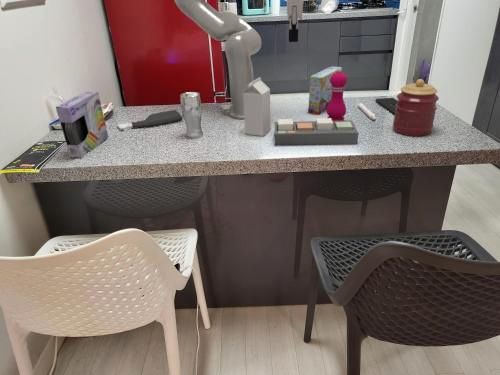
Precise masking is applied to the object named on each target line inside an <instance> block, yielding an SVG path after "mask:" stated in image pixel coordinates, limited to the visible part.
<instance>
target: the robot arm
mask: <svg viewBox="0 0 500 375" xmlns="http://www.w3.org/2000/svg"><path fill="white" fill-rule="evenodd" d="M174 3H175V4H176V7H177V8H178V9H179V10H180V11H181V12H182V13H183V14H184V15H186V17H188V19H190V20H191V21H193V22H194V23H195V24H196V25H197V26H198V27H200V28H201V29H202V30H203V31H204V32H205V33H206V34H207V35H209V36H210V37H211V38H212V39H214V40H216V41H218V42H219V41H224V40H226V41H225V44H224V50H225V51H224V52H225V56H226V60H227V66H228V75H229V76H228V77H229V78H228V79H229V90H230V103H228V104H220V111H221V110H223V111H224V112H225V111H228V112H227V114H228V117H230V118H232V119H238V120H245V118H244V99H243V93H244V92H245V91H246V90H247V89H248V86H247V85H248V84H250V83H251V82H252V81H254V80H255V79H254V67H253V62H252V58H251V56H253V55H255V54H257V53H258V52H259V51H260V49H261V48H262V38H261V36H260V34H259V33H258V32H257V31H256V30H255V29H254V28H253V27H252V26H251V25H250V24H249V23H247V22H246V21H245V20H244V19H243V18H241V17H240V16H239V15H238V14H236V13H234V12H231V11H225V12H220V11H218V10H216V9H215V7H212V5H210V4H209V3H208V2H207V1H206V0H174ZM303 3H304V0H286V15H287V20H288V21H289V29H288V42H289V43H298V42H299V28H298V27H299V20H300V21H302V20H303V6H304V4H303Z"/></svg>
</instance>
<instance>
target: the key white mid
mask: <svg viewBox="0 0 500 375" xmlns="http://www.w3.org/2000/svg"><path fill="white" fill-rule="evenodd" d="M315 121H316V130H333V122H332V119H331V118H328V117H325V118H324V117H323V118H315Z"/></svg>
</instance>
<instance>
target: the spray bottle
mask: <svg viewBox="0 0 500 375" xmlns="http://www.w3.org/2000/svg"><path fill="white" fill-rule="evenodd" d="M179 122H183V115H181V113H180V112H178V111H177V110H175V109H171V110H166V111H159V112H156V113H152V114H150V115H148V116H147V117H146V118H145V119H143V120H142V119H141V120H137V121H133V122H131V121H130V122H127V123H117V128H118V130H120V131H122V130H123V131H122V132H125V131H127V130H130V129H129V128H132V129H144V127H146V128H155V127H154V126H156V127H161V125H162V126H167V125H172V124H175V123H176V124H177V123H179ZM126 129H127V130H126Z"/></svg>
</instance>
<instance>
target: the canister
mask: <svg viewBox="0 0 500 375" xmlns="http://www.w3.org/2000/svg"><path fill="white" fill-rule="evenodd" d="M437 93H438V89H437V88H435V87H434V86H433V85H432V84H428V83H425V81H424V79H422V78H419V79H417V80H416V81H415V82H413V83H407V84H405V86H402V87H401V88H400V92H399V93H397V95H396V98H397V101H398V103H397V104H396V110H395V116H393V117H394V118H393V121H392V130H393V131H394V132H396V133H397V134H401V135H405V136H409V137H411V136H412V137H423V136H427V135H430V134H431V132H432V130H434V129H433V128H434V120H435V117H436V116H435V115H436V111H437V109H438V107H437V101H439V100H440V98H439V96H438V95H437Z"/></svg>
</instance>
